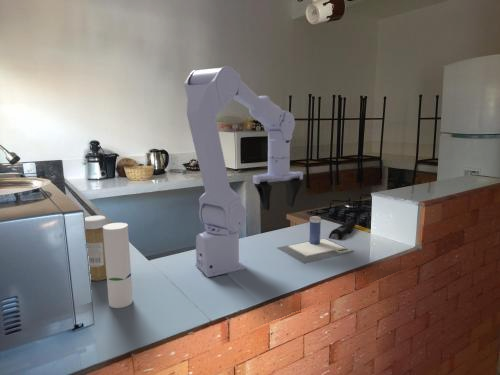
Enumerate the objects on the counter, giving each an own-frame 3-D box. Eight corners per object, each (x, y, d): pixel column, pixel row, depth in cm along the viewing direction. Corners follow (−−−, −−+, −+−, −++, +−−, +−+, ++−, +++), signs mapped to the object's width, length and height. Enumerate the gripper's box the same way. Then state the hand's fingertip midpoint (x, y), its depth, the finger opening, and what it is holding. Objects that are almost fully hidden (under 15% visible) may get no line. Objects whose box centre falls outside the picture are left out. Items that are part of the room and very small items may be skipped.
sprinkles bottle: (114, 274, 85) (110, 215, 83) (101, 282, 81) (96, 221, 78) (97, 271, 87) (92, 214, 84) (83, 280, 82) (77, 219, 80)
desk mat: (303, 264, 90) (303, 263, 90) (276, 249, 100) (276, 247, 100) (355, 252, 98) (355, 251, 98) (324, 239, 108) (324, 238, 108)
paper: (306, 256, 94) (306, 255, 94) (288, 246, 101) (288, 245, 101) (344, 248, 100) (344, 247, 100) (324, 239, 107) (324, 238, 106)
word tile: (340, 253, 96) (340, 252, 96) (333, 250, 98) (333, 249, 98) (352, 251, 98) (352, 249, 98) (345, 248, 100) (345, 246, 100)
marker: (313, 245, 101) (314, 219, 100) (307, 242, 104) (307, 217, 102) (322, 243, 102) (323, 218, 101) (315, 240, 105) (316, 215, 104)
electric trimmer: (358, 229, 119) (359, 219, 118) (340, 243, 106) (340, 232, 105) (346, 227, 121) (347, 217, 120) (327, 240, 108) (327, 229, 107)
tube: (105, 302, 73) (98, 225, 70) (126, 294, 76) (120, 221, 73) (115, 310, 70) (109, 231, 67) (137, 302, 73) (132, 225, 70)
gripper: (262, 160, 94) (262, 214, 97) (310, 157, 101) (309, 207, 103) (248, 157, 100) (249, 208, 103) (294, 154, 107) (294, 202, 109)
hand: (278, 207), depth 103 cm, fingers open, 7 cm apart
